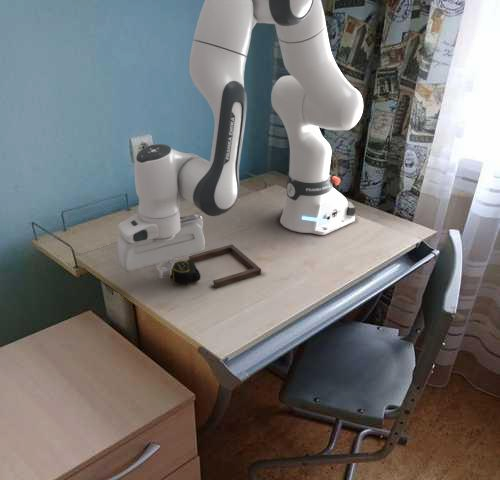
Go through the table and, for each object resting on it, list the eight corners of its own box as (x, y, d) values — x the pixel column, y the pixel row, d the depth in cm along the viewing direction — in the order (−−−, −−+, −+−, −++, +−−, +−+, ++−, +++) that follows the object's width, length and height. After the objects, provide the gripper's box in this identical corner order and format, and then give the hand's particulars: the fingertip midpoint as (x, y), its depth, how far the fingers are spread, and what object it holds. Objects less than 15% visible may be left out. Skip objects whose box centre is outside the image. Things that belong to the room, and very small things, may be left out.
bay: (232, 249, 137) (232, 244, 136) (261, 274, 127) (261, 268, 126) (189, 261, 131) (188, 255, 130) (215, 288, 121) (215, 282, 120)
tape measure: (201, 285, 122) (201, 271, 120) (173, 289, 121) (172, 275, 118) (195, 270, 128) (194, 257, 125) (167, 274, 126) (166, 261, 124)
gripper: (196, 207, 119) (198, 258, 127) (110, 226, 110) (119, 280, 119) (208, 217, 115) (210, 270, 123) (121, 238, 106) (128, 294, 114)
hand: (164, 275), depth 121 cm, fingers closed
